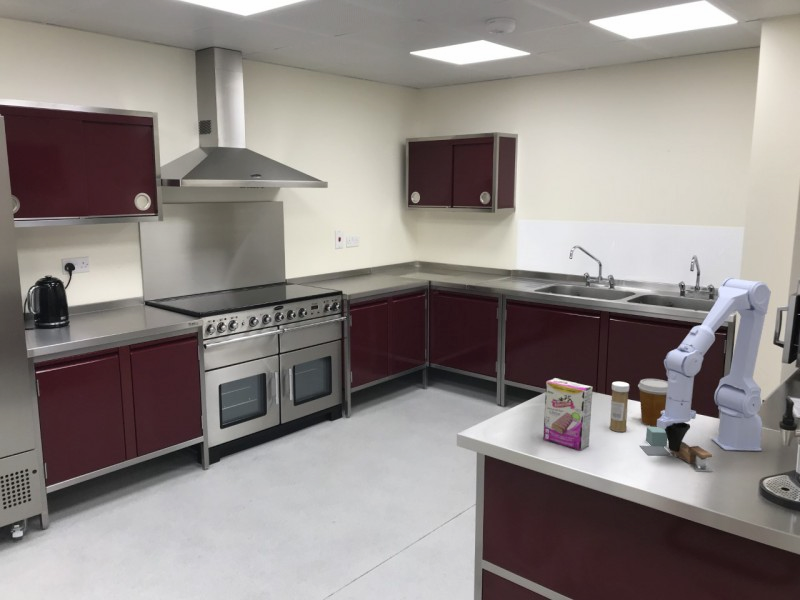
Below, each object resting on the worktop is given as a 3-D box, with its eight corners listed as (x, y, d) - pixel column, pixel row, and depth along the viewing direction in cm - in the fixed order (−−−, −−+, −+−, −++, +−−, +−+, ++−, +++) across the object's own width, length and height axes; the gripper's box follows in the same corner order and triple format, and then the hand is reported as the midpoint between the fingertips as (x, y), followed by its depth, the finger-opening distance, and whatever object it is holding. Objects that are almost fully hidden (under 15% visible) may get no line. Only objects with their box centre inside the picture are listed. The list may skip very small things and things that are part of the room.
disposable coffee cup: (649, 415, 186) (652, 376, 185) (677, 425, 178) (681, 384, 177) (628, 420, 182) (631, 381, 180) (656, 431, 174) (659, 389, 172)
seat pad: (662, 446, 162) (662, 446, 162) (672, 455, 156) (672, 455, 156) (639, 446, 163) (639, 445, 163) (647, 455, 157) (647, 454, 157)
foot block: (660, 441, 166) (661, 427, 166) (666, 447, 162) (667, 432, 162) (645, 441, 166) (646, 426, 166) (651, 446, 162) (652, 432, 162)
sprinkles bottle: (629, 430, 174) (632, 384, 172) (619, 433, 171) (622, 386, 169) (616, 425, 178) (619, 380, 176) (605, 428, 175) (608, 382, 173)
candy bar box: (542, 440, 166) (544, 381, 164) (551, 435, 170) (554, 377, 167) (580, 451, 159) (584, 389, 156) (589, 446, 162) (593, 385, 160)
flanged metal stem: (705, 464, 151) (706, 452, 151) (712, 471, 147) (713, 458, 147) (688, 464, 151) (689, 451, 151) (695, 471, 147) (696, 458, 147)
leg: (711, 469, 148) (713, 454, 147) (700, 470, 147) (701, 455, 147) (679, 449, 159) (681, 435, 159) (669, 450, 159) (670, 436, 158)
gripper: (679, 389, 161) (674, 439, 163) (647, 398, 153) (642, 451, 155) (706, 396, 155) (700, 448, 158) (674, 406, 147) (669, 460, 149)
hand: (673, 450), depth 156 cm, fingers closed, pressing on leg
